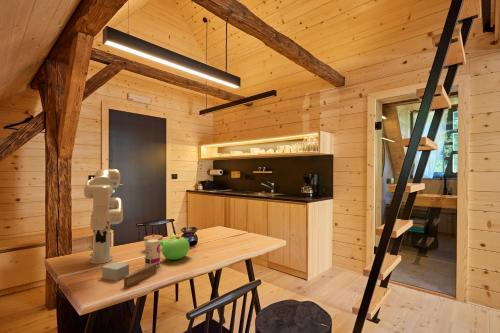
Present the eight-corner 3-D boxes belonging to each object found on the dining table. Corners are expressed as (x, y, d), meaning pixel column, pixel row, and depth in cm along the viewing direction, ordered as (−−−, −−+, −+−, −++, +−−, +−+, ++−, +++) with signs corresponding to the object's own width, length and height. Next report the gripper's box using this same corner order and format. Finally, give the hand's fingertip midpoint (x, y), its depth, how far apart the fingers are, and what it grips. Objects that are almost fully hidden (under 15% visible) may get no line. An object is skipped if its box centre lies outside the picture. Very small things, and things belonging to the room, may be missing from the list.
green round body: (176, 265, 159) (176, 240, 159) (154, 260, 166) (154, 237, 166) (194, 256, 175) (194, 233, 175) (174, 252, 182) (174, 231, 182)
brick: (102, 278, 140) (102, 266, 140) (114, 272, 147) (114, 261, 147) (116, 281, 136) (116, 269, 136) (128, 275, 144) (128, 264, 144)
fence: (123, 286, 129) (124, 276, 129) (152, 272, 148) (152, 263, 148) (127, 287, 129) (128, 277, 129) (156, 272, 147) (156, 263, 147)
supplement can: (161, 263, 161) (161, 238, 161) (157, 268, 153) (157, 242, 153) (148, 263, 161) (148, 238, 161) (143, 268, 153) (143, 242, 153)
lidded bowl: (165, 247, 193) (165, 232, 193) (157, 253, 181) (158, 236, 181) (148, 247, 195) (149, 231, 195) (140, 252, 182) (140, 236, 182)
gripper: (84, 208, 145) (83, 242, 145) (106, 210, 140) (105, 245, 139) (96, 206, 152) (96, 239, 152) (117, 208, 147) (117, 242, 146)
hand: (100, 241), depth 146 cm, fingers open, 2 cm apart
